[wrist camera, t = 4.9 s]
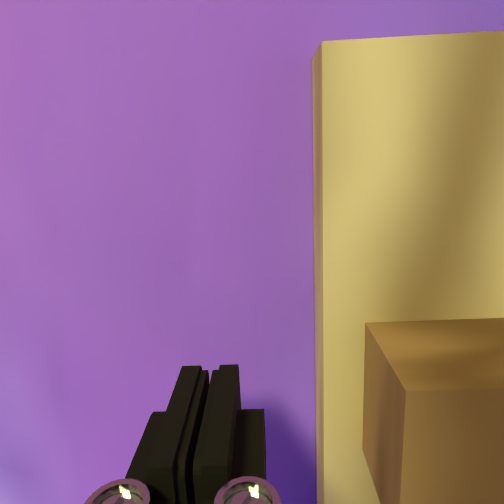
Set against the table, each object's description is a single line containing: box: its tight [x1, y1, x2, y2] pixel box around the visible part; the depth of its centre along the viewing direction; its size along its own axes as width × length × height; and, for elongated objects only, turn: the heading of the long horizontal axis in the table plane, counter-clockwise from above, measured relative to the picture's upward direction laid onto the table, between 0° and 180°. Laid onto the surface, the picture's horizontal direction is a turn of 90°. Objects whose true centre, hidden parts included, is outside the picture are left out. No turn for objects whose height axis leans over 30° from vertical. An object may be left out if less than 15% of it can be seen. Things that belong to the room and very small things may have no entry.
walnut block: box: [362, 318, 504, 504], centre depth 11 cm, size 4×4×4 cm
